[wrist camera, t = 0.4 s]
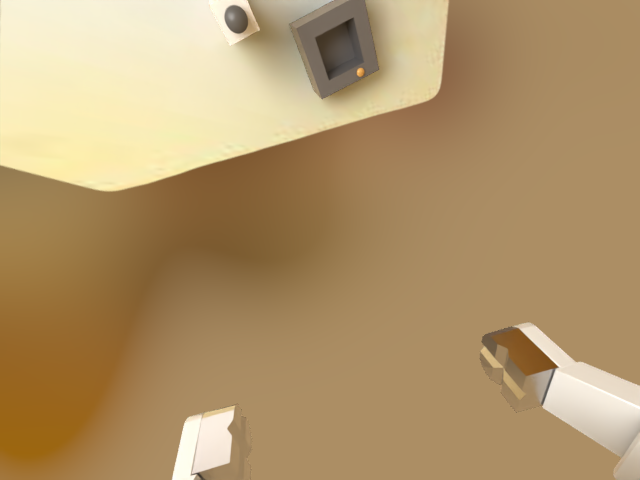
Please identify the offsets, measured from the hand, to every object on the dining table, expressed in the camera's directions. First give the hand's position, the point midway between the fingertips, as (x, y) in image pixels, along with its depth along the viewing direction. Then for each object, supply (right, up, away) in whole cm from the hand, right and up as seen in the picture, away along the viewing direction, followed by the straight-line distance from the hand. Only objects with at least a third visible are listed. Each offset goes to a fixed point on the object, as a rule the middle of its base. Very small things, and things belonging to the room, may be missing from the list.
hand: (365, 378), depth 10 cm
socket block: (0, +35, +38) cm, 52 cm away
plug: (-14, +36, +32) cm, 50 cm away
